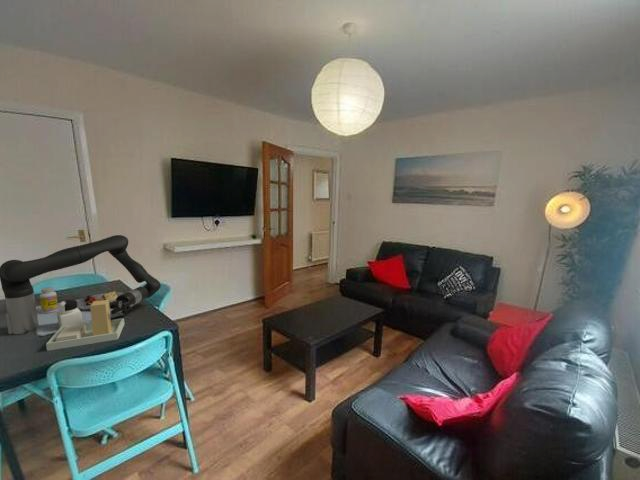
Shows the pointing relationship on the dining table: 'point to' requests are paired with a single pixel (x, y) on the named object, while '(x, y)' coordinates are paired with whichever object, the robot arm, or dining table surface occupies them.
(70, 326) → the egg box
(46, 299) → the supplement bottle
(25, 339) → the dining table surface
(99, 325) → the juice carton
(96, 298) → the food plate
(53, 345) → the tray
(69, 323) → the container
